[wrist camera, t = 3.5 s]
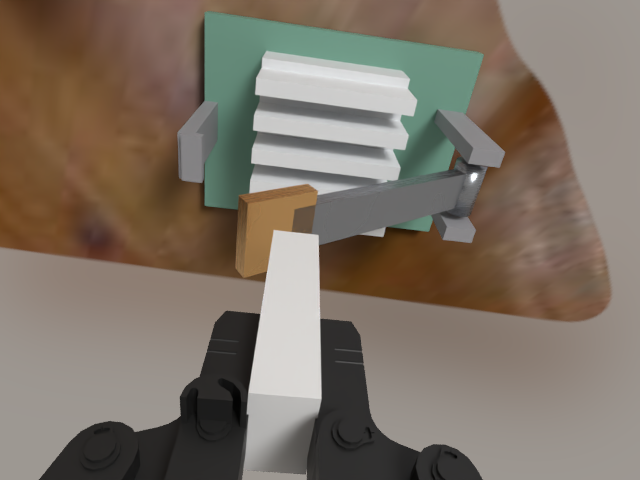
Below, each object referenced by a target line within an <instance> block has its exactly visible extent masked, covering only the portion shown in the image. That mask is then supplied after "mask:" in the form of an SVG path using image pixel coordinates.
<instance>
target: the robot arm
mask: <svg viewBox="0 0 640 480" xmlns="http://www.w3.org/2000/svg"><path fill="white" fill-rule="evenodd" d="M180 408H181V409H180V410H181V416H180V417H179V418H178V419H177V420H174V421H173V422H171V423H169V424H166V425H163V426H160V427H157V428H152V429H148V430H143V431H139V432H134V431H133V429H132V428H131V427H129V426H127V425H125V424H124V423H121V422H112V421H108V422H103V423H99V424H94V425H92V426H90V427H89V428H87V429H85V430H83V431H81V432H80V433H79V434H78V435H77V436H76V437H75V438H73V439H72V440H71V441H70V442H69V443H68V445H67V446H66V447H65V448H64V450H63V451H62V452H61V453H60V454H59V456H58V457H57V458H56V460H55V461H54V462H53V463H52V464H51V466H50V467H49V468H48V469H47V471H46V472H45V473H44V474H43V475H42V477H41V478H40V479H39V480H242V475H243V470H248V471H263V472H280V473H293V474H306V470H307V480H482V478H481V476H480V474H479V472H478V471H477V469H476V468H475V466H474V465H473V464H472V462H471V461H470V460H469V459H468V457H466V456H465V455H464V454H462V453H461V452H460V451H458V450H457V449H455V448H452V447H449V446H447V445H437V444H436V445H435V444H433V445H431V446H428V447H426V448H424V449H423V450H422V452H418V451H416V450H413V449H411V448H408V447H406V446H403V445H400V444H398V443H396V442H394V441H392V440H390V439H389V438H387V437H386V436H385V435H384V434H382V433H381V431H380V430H379V429H378V428H377V427H376V425H375V423H374V422H373V420H372V417H371V414H370V409H369V401H368V394H367V386H366V378H365V370H364V365H363V354H362V347H361V339H360V334H359V333H358V331H357V330H356V328H355V327H354V325H353V324H352V322H349V321H339V320H328V319H320V287H319V235H314V234H305V233H296V232H287V231H278V230H274V232H273V238H272V244H271V251H270V257H269V264H268V270H267V276H266V283H265V289H264V296H263V302H262V309H261V314H255V313H244V312H234V311H226V312H225V313H224V314H223V315H222V316H221V317H220V318H219V319H218V320H217V321H216V322H215V324H214V328H213V332H212V335H211V340H210V342H209V346H208V349H207V353H206V357H205V360H204V363H203V367H202V371H201V374H200V377H198V378H196V379H194V380H193V381H192V382H191V383H189V384H188V385H187V386H186V387H185V389H184V390H183V392H182V394H181V396H180Z"/></svg>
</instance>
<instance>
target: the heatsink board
mask: <svg viewBox="0 0 640 480" xmlns="http://www.w3.org/2000/svg"><path fill="white" fill-rule="evenodd" d="M483 56H484V54H482V53H479V52H475V51H469V50H462V49H455V48H449V47H442V46H436V45H429V44H422V43H416V42H409V41H403V40H396V39H389V38H383V37H376V36H370V35H363V34H356V33H350V32H343V31H337V30H330V29H323V28H317V27H310V26H304V25H297V24H290V23H284V22H277V21H271V20H264V19H257V18H251V17H244V16H238V15H231V14H224V13H218V12H211V11H207V12H205V101H204V102H203V103H202V104H201V106H200V107H199V108H198V109H197V110H196V112H195V113H194V114H193V115H192V116H191V117H190V119H189V120H188V121H187V122H186V123H185V124H184V126H183V127H182V128H181V129H180V130H179V132H178V160H179V178H182V181H190V182H198V183H202V181H203V180H204V163H205V206H210V207H219V208H228V209H236V210H238V199H239V195H243V194H249V193H255V192H261V191H267V190H273V189H279V188H285V187H291V186H296V185H302V184H309V185H310V186H312V187H313V188H315V189H316V190H317V191H318V194H317V195H320V194H326V193H331V192H336V191H342V190H347V189H352V188H357V187H363V186H368V185H373V184H379V183H384V182H389V181H394V180H400V179H405V178H410V177H416V176H421V175H426V174H431V173H437V172H442V171H447V170H448V169H449V165H450V162H451V159H452V156H453V152H454V149H455V148H456V149H457V151H458V152H459V153H460V154H461V155H462V157H463V158H464V159H465V160H466V162H467V163H468V164H475V165H483V166H491V167H500V165H501V162H502V159H503V157H504V154H505V152H504V151H503V150H502V149H501V148H500V147H499V146H498V145H497V144H496V143H495V142H494V141H493V140H492V139H490V138H489V137H488V136H487V135H486V134H485V133H484V132H483V131H482V130H481V129H480V128H479V127H478V126H477V125H475V124H474V123H473V122H472V121H471V120H470V119H469V118H468V117H467V116H466V115H465V114H466V111H467V107H468V104H469V101H470V98H471V95H472V91H473V88H474V85H475V82H476V79H477V75H478V72H479V69H480V66H481V62H482V59H483ZM432 220H433V221H434V223H435V225H436V227H437V229H438V231H439V233H440V235H441V237H442V239H443V240H451V241H459V242H468V243H471V242H472V239H473V237H474V234H475V231H476V230H475V228H474V227H473V225H472V223H471V222H470V220H469V219H468V217H459V216H455V215H452V214H449V213H447V212H446V211H444V212H440V213H437V214H433V215H429V216H425V217H422V218H418V219H414V220H411V221H407V222H403V223H399V224H396V225H392V226H388V227H393V228H402V229H411V230H420V231H428V232H429V230H430V226H431V223H432ZM385 229H386V227H385V228H381V229H377V230H373V231H370V232H366V233H362V234H361V235H370V236H379V237H384V233H385Z"/></svg>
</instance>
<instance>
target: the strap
mask: <svg viewBox="0 0 640 480" xmlns="http://www.w3.org/2000/svg"><path fill="white" fill-rule="evenodd" d="M487 168H488V166H483V165H475V164H468V163H467V162H466V160H465V159H464V158H463V157H459V158H457V161H456V164H455V167H454V169H453V170H447V171H442V172H437V173H431V174H426V175H421V176H416V177H410V178H405V179H400V180H394V181H389V182H384V183H379V184H373V185H368V186H363V187H357V188H352V189H347V190H342V191H336V192H331V193H326V194H320V195H317V194H318V191H317V190H316V189H315V188H313V187H312V186H310V185H309V184H302V185H296V186H291V187H285V188H279V189H273V190H267V191H261V192H255V193H249V194H243V195H239V199H238V221H237V244H236V266H235V268H236V270H237V271H238V272H239V273H240V274H241V275H242V277H243V278H245V277H249V276H252V275H256V274H259V273H263V272H266V271H267V270H268V264H269V257H270V251H271V244H272V238H273V232H274V230H278V231H287V232H296V233H305V234H314V235H319V245H321V244H325V243H329V242H333V241H336V240H340V239H344V238H347V237H351V236H355V235H359V234H362V233H366V232H370V231H373V230H377V229H381V228H385V227H388V226H392V225H396V224H399V223H403V222H407V221H411V220H414V219H418V218H422V217H425V216H429V215H433V214H437V213H440V212H444V211H446V212H447V213H449V214H452V215H455V216H459V217H467V216H470V215H471V212H472V209H473V207H474V204H475V201H476V198H477V195H478V193H479V190H480V187H481V184H482V182H483V179H484V176H485V173H486V170H487Z"/></svg>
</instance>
